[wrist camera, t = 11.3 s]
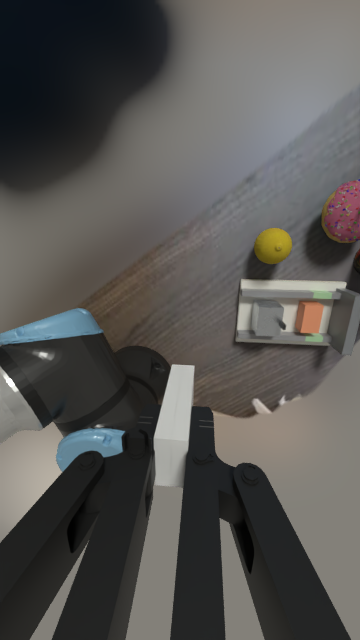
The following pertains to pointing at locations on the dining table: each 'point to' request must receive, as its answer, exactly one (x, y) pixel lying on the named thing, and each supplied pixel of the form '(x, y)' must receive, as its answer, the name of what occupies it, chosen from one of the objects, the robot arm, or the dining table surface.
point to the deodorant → (357, 261)
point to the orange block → (309, 316)
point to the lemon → (273, 246)
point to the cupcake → (343, 213)
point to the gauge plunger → (267, 318)
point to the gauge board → (336, 320)
